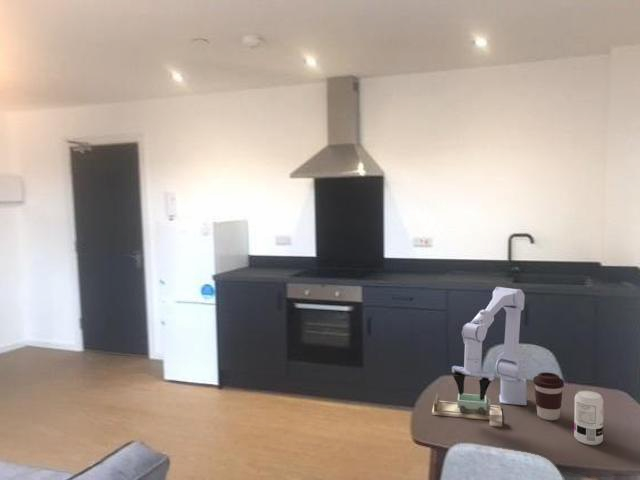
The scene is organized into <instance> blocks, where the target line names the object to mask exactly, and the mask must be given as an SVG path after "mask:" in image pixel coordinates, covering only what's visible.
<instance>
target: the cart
mask: <svg viewBox="0 0 640 480" xmlns="http://www.w3.org/2000/svg"><path fill="white" fill-rule="evenodd" d="M457 402H458V408H460V411H461V412H465V410H466V409H476V410H478V412H479V413H480V414H483V413H484V410H487V411H490V405H491V400H490V398H488V397H487V395H486V394H485V397H484V399H483V400H480V394H473V393H472V394H470V393H463V394H461V395H460V394H459V392H458V394H457Z"/></svg>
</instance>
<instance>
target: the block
mask: <svg viewBox="0 0 640 480" xmlns="http://www.w3.org/2000/svg"><path fill="white" fill-rule="evenodd" d="M489 426H490V427H491V426H493V427H503V411H502V410H501V411H498V410H490V420H489Z"/></svg>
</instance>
